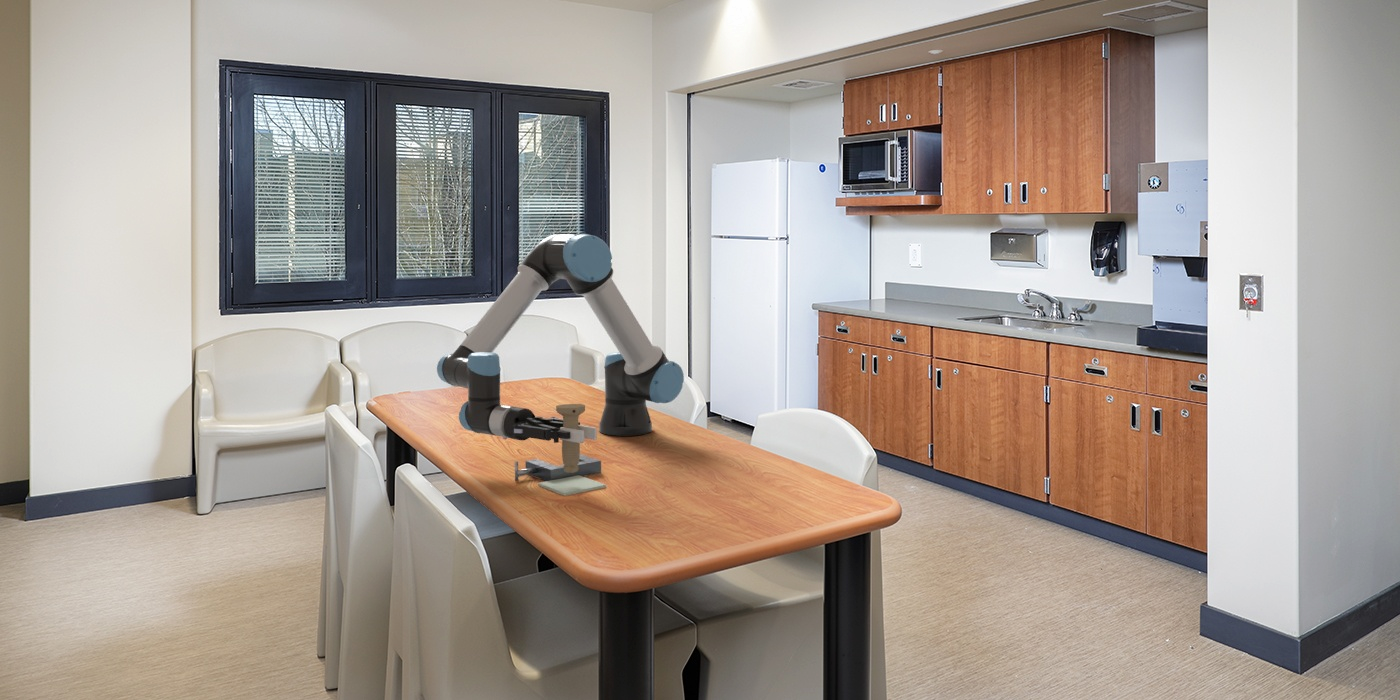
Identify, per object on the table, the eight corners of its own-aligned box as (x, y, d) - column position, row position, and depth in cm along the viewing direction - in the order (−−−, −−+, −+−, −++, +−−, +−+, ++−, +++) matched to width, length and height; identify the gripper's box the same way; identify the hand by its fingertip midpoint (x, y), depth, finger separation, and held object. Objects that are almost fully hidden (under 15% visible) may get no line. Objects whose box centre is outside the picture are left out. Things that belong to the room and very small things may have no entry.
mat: (579, 477, 225) (578, 475, 225) (606, 487, 217) (606, 484, 217) (538, 485, 218) (538, 482, 218) (564, 495, 210) (564, 493, 210)
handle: (588, 472, 216) (587, 406, 215) (560, 475, 214) (560, 408, 212) (581, 467, 221) (581, 403, 219) (554, 470, 218) (553, 405, 216)
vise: (575, 464, 238) (575, 446, 238) (601, 472, 230) (601, 454, 229) (505, 476, 226) (505, 458, 225) (530, 486, 217) (529, 467, 217)
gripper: (538, 432, 233) (613, 445, 220) (487, 444, 220) (564, 459, 207) (538, 402, 232) (613, 413, 219) (486, 412, 219) (563, 424, 206)
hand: (589, 435), depth 213 cm, fingers closed on handle, 3 cm apart
